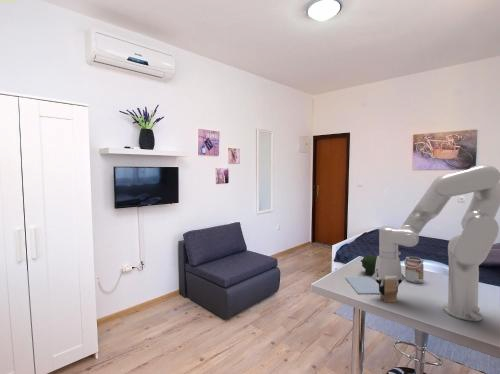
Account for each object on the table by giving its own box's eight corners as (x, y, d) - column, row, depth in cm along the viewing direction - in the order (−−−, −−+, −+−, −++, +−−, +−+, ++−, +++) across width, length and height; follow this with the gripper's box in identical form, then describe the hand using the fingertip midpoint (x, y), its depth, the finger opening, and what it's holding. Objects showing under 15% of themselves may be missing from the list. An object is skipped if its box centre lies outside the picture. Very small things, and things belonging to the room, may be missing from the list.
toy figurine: (384, 269, 165) (353, 272, 155) (386, 238, 165) (355, 239, 155) (398, 274, 156) (366, 278, 146) (400, 242, 156) (368, 243, 146)
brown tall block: (396, 302, 120) (396, 275, 119) (385, 302, 120) (385, 275, 120) (391, 297, 125) (391, 271, 124) (380, 297, 125) (380, 271, 125)
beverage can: (419, 286, 136) (419, 262, 136) (401, 281, 143) (401, 258, 142) (426, 281, 142) (426, 258, 142) (408, 276, 149) (408, 255, 148)
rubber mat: (386, 294, 128) (386, 292, 128) (358, 294, 128) (358, 293, 128) (369, 278, 148) (369, 276, 148) (345, 278, 148) (345, 277, 148)
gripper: (403, 251, 125) (403, 290, 126) (366, 252, 126) (365, 290, 127) (412, 256, 118) (412, 297, 118) (372, 256, 118) (372, 297, 119)
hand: (388, 293), depth 122 cm, fingers closed on brown tall block, 5 cm apart
